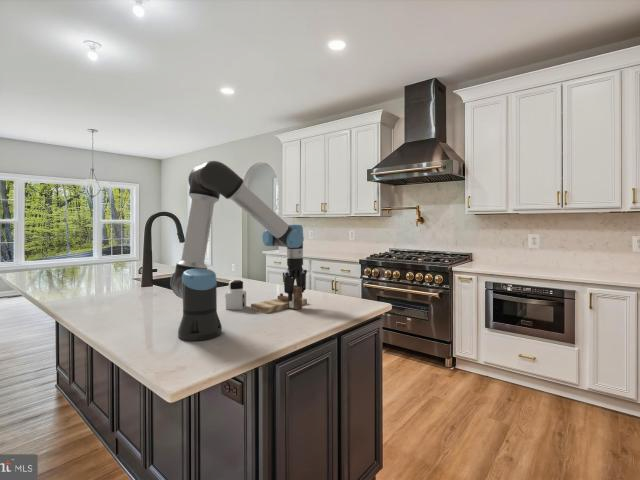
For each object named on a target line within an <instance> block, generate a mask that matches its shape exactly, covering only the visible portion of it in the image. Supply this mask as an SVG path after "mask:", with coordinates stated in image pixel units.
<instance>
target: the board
mask: <svg viewBox="0 0 640 480" xmlns="http://www.w3.org/2000/svg"><path fill="white" fill-rule="evenodd" d="M307 304H308V299H307V298H305V297H304V298H303V297H302V306H303V305H307ZM286 309H290V308H289V306H288V301H284V300H279V299H278V298H275V299H270V300H264V301H260V302H254V303H251V304H250V310H252V311H256V312H260V313H263V314H268V313H272V312H277V311H281V310H286Z"/></svg>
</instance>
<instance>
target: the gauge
mask: <svg viewBox="0 0 640 480" xmlns="http://www.w3.org/2000/svg"><path fill="white" fill-rule="evenodd" d="M293 294H294V308H290V307H289V308H288V309H290V310H291V309H292V310H295V311H296V310H300V309H302V308H303V305H302V298H303V292H302V287H298V286H297V284H294V288H293ZM277 299H279V300H284V301H288V295H287V296H286V295H284V293H279V295H277ZM288 306H289V301H288Z"/></svg>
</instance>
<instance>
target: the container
mask: <svg viewBox="0 0 640 480" xmlns="http://www.w3.org/2000/svg"><path fill="white" fill-rule="evenodd" d="M246 307H247V290H244V282H243V281H242V280H241V279H234V280H233V279H232V280H230V281H229V282H228V291H227V292H226V293H225V310H232V311H233V310H235V311H237V310H239V311H240V310H241V311H242V310H243V309H244V308H246Z"/></svg>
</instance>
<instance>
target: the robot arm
mask: <svg viewBox="0 0 640 480" xmlns="http://www.w3.org/2000/svg"><path fill="white" fill-rule="evenodd" d="M188 185H189V193H188V196H189V197H190V198H191V203H190V209H189V214H188V219H187V220H188V221H187V227H186V231H185V236H184V237H185V238H184V243H183V248H182V249H183V250H182V255H181V259H180V260H179V261H177V262H176V265H175V270H174V272H173V273H172V275H171V276H170V283H169V284H170V285H169V286H170V288H171V290H172V292H173V293H174V294H175V296H176V297H178V298H179V299H182V317H181V321H180V323H179V326H178V330H177V332H178V333H177V337H178V338H179V339H180V340H182V341H187V342H188V341H190V342H198V341H207V340H212V339H215V338H218V337H219V336H220V335H222V334H223V327H222V323H221V320H220V318H219V315H218V311H217V309H218V305H217V304H218V303H217V301H218V300H217V297H218V295H217V294H218V293H217V291H218V290H217V283H218V280H217V274H216V273H215V271H214V270H212V269H208V266H207V265H206V263H205V260H206V254H207V249H208V243H209V236H210V231H211V224H212V220H213V214H214V207H215V204H216V203H218V202H219V199H220V196H222V197H224V199H226V200H231V201H232V202H234V203H235V204H236V206H238V207H239V208H241V209H242V210H243V211H244V212H245V213H247V215H249V216H250V217H251V218H252V219H254V220H255V221H256V222H257V223H258V224H259V225H260V226H262V227H263V228H264V229H265V230H264V231H263V233H262V237H261V239H262V243H263V245H264V246H266V247H283V248H286V257H287V258H286V265H287V269H286V271H283V272H282V275H283V288H284V293H285V294H287V296H288V301H289V307H290V308H289V309H291V308H294V294H293V288H294V285H295V282H296V285H297V286H298V287H302V293H305V291H306V289H307V284H306V283H307V279H306V278H307V272H308V270H307V269H304V268H303V266H304V258H303V257H304V238H305V237H304V228H303V227H304V226H303V225H302V224H288V223H287V222H286V221H284V219H282V217H280V216H279V215H278V214H277V213H276V212H275V211H274V210H273V209H272V208H270V207H269V205H267V204H266V203H265V202H264V201H263V200H262V199H261V198H260V197H258V196H257V195H256V194H255V193H254V192H253V191H252V190H251V189H250V188H249V187H248V186H246V185H245V181H244V179H243V178H241V177H240V176H239V174H237V173H236V172H235V171H234V170H233V169H232V168H231V167H229V166H228V165H226V163H225V164H224V163H222V162H221V161H217V160H209V161H206V162H205V163H200V164H198V165H196V166H195V167H194V168H193V169H192V170H191V171H190V173H189V176H188Z"/></svg>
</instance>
